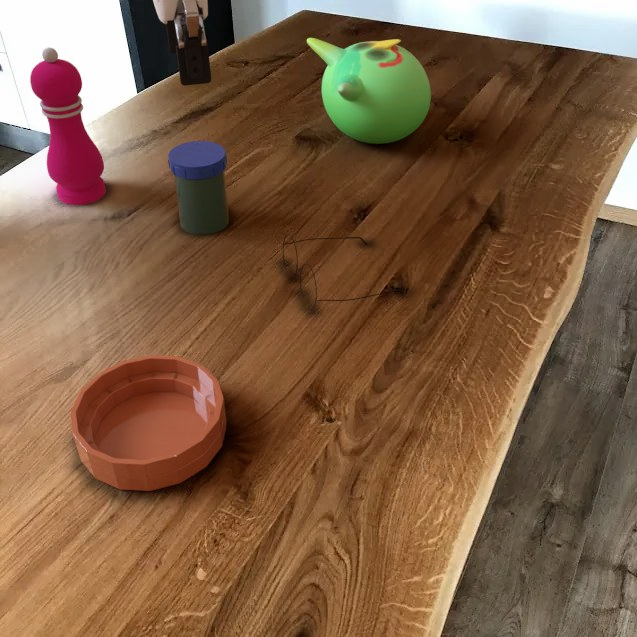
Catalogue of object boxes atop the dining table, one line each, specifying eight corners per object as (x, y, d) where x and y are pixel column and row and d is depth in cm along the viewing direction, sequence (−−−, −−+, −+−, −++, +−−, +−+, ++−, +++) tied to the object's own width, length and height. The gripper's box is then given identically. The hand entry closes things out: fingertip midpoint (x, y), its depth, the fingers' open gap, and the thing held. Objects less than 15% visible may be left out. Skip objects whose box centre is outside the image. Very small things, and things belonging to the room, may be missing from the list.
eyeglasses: (365, 241, 91) (367, 206, 88) (409, 300, 82) (412, 263, 79) (279, 259, 88) (277, 224, 85) (314, 322, 79) (314, 285, 76)
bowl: (60, 490, 62) (49, 459, 59) (104, 382, 72) (96, 352, 69) (212, 498, 61) (207, 467, 59) (235, 388, 71) (232, 358, 69)
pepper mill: (91, 212, 96) (56, 62, 84) (44, 203, 98) (3, 54, 85) (119, 187, 102) (91, 41, 89) (74, 178, 103) (40, 34, 91)
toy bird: (444, 152, 110) (456, 54, 100) (340, 170, 105) (342, 70, 96) (394, 106, 123) (401, 15, 113) (299, 120, 118) (298, 27, 109)
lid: (164, 179, 87) (162, 166, 86) (176, 152, 92) (174, 139, 91) (221, 180, 86) (220, 167, 85) (230, 154, 92) (229, 141, 90)
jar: (176, 235, 92) (166, 168, 86) (186, 210, 97) (177, 144, 91) (224, 237, 92) (218, 170, 86) (232, 211, 97) (226, 146, 91)
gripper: (123, -124, 75) (148, 44, 86) (136, -91, 63) (164, 101, 74) (195, -127, 77) (211, 38, 88) (223, -96, 64) (237, 93, 75)
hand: (189, 66), depth 81 cm, fingers open, 9 cm apart
